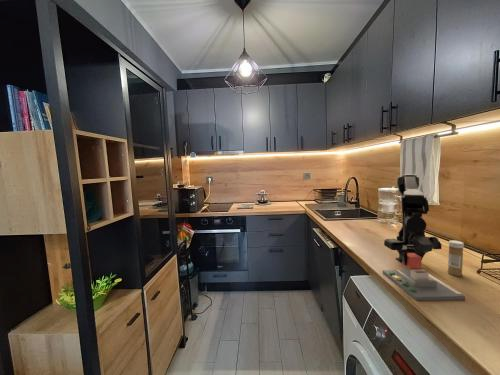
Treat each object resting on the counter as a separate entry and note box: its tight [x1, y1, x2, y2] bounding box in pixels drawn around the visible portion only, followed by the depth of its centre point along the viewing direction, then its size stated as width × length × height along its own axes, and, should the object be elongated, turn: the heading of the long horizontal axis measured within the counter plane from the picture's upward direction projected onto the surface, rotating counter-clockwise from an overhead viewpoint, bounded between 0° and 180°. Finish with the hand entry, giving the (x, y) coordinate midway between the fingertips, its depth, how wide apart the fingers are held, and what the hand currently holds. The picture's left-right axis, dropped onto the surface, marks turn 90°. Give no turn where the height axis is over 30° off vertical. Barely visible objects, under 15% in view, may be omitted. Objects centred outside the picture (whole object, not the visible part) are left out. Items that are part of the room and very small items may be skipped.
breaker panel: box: [382, 269, 466, 301], centre depth 87 cm, size 20×16×3 cm
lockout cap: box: [402, 253, 422, 269], centre depth 91 cm, size 4×4×4 cm
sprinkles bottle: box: [447, 239, 465, 277], centre depth 94 cm, size 5×5×13 cm
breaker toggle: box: [410, 268, 430, 281], centre depth 86 cm, size 3×4×4 cm
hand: (411, 265), depth 91 cm, fingers closed on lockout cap, 4 cm apart
